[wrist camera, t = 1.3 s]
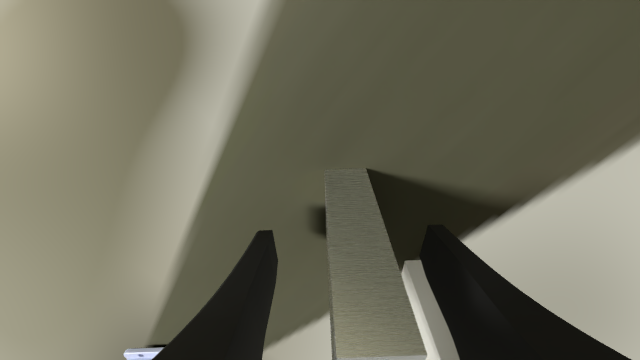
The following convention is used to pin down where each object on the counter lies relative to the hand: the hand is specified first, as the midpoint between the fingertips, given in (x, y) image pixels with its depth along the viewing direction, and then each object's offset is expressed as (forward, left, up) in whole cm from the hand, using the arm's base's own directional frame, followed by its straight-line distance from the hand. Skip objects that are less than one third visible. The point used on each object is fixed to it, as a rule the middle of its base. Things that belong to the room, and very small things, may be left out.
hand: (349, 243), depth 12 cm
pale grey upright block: (0, 0, -2) cm, 2 cm away
